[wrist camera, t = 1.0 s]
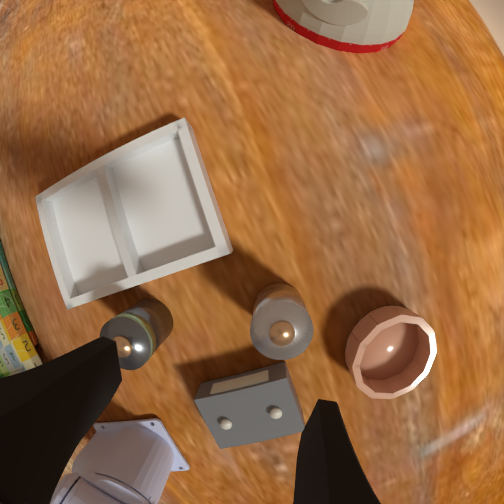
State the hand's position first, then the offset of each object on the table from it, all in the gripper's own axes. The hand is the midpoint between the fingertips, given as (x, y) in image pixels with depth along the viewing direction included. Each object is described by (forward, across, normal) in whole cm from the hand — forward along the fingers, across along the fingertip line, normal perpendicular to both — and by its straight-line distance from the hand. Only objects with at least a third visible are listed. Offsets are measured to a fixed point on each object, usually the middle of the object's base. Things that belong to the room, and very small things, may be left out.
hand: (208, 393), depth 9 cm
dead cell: (+15, -2, +5) cm, 16 cm away
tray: (+15, +13, 0) cm, 19 cm away
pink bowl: (+15, -12, +7) cm, 21 cm away
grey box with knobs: (+12, -1, +14) cm, 18 cm away
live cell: (+13, +9, +8) cm, 18 cm away
